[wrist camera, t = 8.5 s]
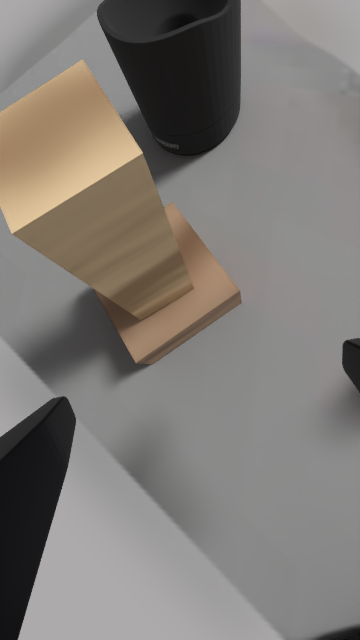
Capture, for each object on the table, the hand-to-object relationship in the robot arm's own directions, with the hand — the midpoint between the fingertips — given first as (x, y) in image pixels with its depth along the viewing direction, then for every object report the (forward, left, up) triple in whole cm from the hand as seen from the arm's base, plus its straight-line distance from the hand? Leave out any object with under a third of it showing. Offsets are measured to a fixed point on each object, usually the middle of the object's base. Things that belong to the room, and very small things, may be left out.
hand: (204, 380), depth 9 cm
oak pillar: (+9, +2, -10) cm, 13 cm away
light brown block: (+9, +2, -14) cm, 17 cm away
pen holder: (+24, -7, -14) cm, 28 cm away
